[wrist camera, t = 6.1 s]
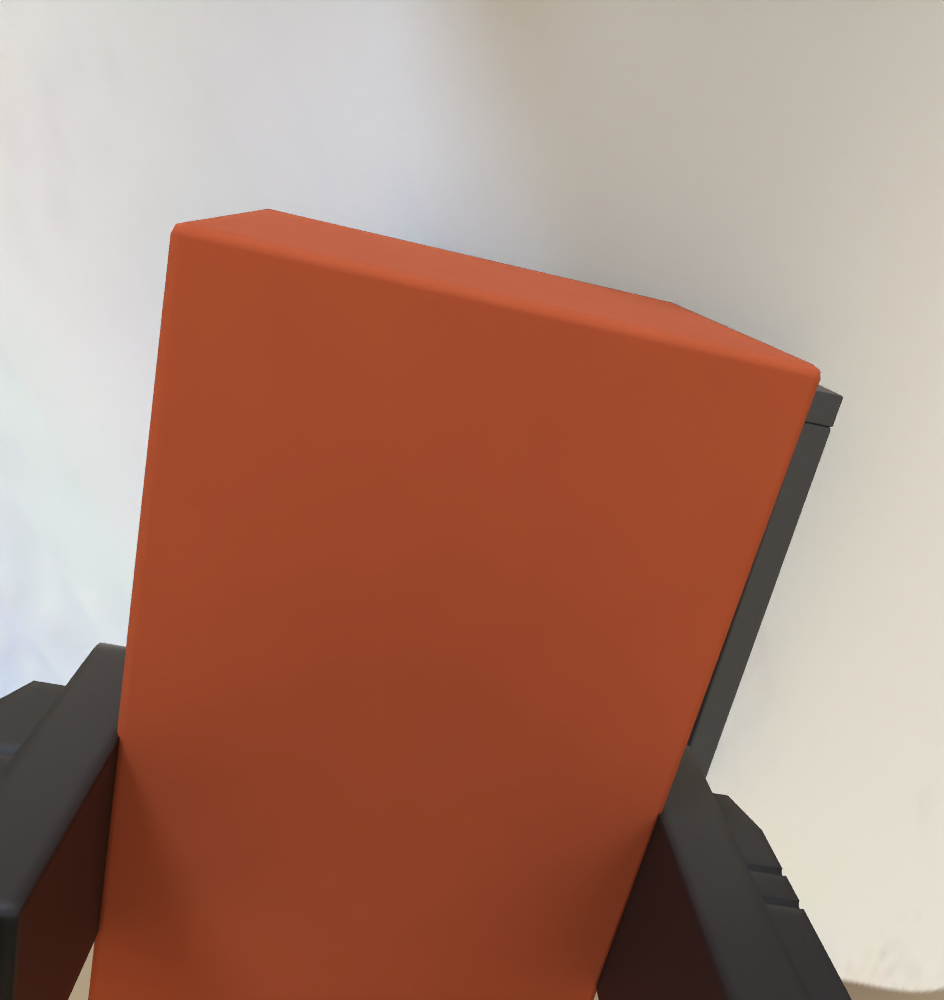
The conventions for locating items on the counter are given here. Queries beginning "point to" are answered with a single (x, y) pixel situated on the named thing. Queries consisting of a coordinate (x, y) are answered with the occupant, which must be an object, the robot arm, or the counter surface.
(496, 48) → the counter surface
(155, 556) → the orange-red rectangular block
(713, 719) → the tray
